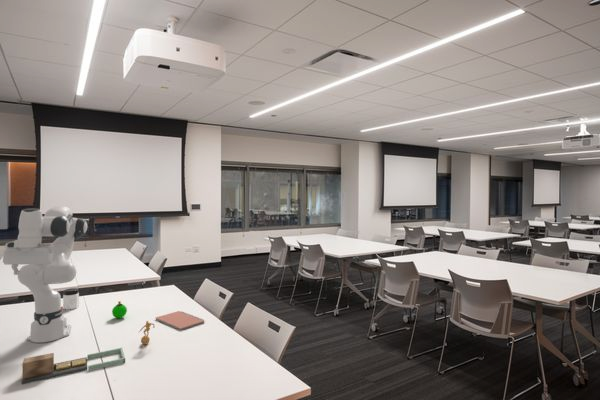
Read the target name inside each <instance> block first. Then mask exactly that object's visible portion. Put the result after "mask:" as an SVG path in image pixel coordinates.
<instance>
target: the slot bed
mask: <svg viewBox="0 0 600 400" xmlns="http://www.w3.org/2000/svg"><path fill="white" fill-rule="evenodd" d="M83 358H86V365H84V366H80V367H75V368H72V361H74V360H78V359H83ZM87 360H88V359H87V356H86V357H81V358H76V359H70V360H66V361H61V362H56V363H54V372H52V373H47V374H42V375H38V376H33V377H29V378H24V379H23V378H21V385H26V384H31V383H35V382H39V381H44V380H48V379H53V378H57V377H62V376H66V375H71V374H76V373H80V372H84V371H88V361H87ZM69 361H71V368H70V369H66V370H61V371H56V366H57V364H59V363H64V362H69Z"/></svg>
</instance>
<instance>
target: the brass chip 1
mask: <svg viewBox="0 0 600 400" xmlns="http://www.w3.org/2000/svg"><path fill="white" fill-rule="evenodd" d="M68 361H69V362H66V361H63V362H64V363H61V362H58V363H59V364H57V366H56V371H61V370H66V369H70V368H71V361H70V360H68Z"/></svg>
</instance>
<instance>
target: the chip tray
mask: <svg viewBox="0 0 600 400" xmlns="http://www.w3.org/2000/svg"><path fill="white" fill-rule="evenodd" d="M119 353H120V356H121V358H118V359H113V360H108V361H103V362H98V363H95V364H89V365H87V371H93V370H98V369H102V368H103V369H104V368H108V367H112V366H116V365H120V364H124V363H126V356H125V354H124V351H123V347H119V348H113V349H109V350H103V351H98V352H94V353H89V354H87V356H86V357H87V360H90V359H96V358H100V357H101V358H102V357H105V356H110V355H115V354H119Z"/></svg>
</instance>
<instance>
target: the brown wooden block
mask: <svg viewBox="0 0 600 400" xmlns="http://www.w3.org/2000/svg"><path fill="white" fill-rule="evenodd" d="M54 355H55V353H54V352H52V353H51V352H49V353H45V354H40V355H36V356H31V357H30V356H29V357H24V358H23V361H22V363H21V365H22V368H21V369H22V379H24V378H29V377H33V376H38V375H42V374H47V373H52V372H54V364H55V356H54Z"/></svg>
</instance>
